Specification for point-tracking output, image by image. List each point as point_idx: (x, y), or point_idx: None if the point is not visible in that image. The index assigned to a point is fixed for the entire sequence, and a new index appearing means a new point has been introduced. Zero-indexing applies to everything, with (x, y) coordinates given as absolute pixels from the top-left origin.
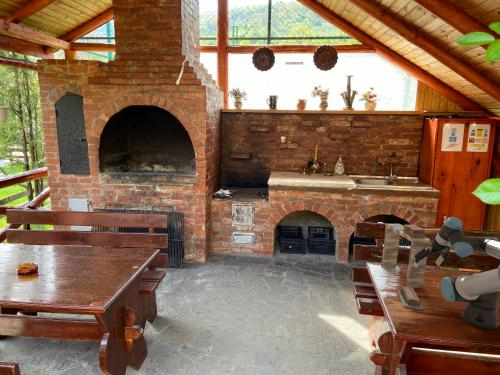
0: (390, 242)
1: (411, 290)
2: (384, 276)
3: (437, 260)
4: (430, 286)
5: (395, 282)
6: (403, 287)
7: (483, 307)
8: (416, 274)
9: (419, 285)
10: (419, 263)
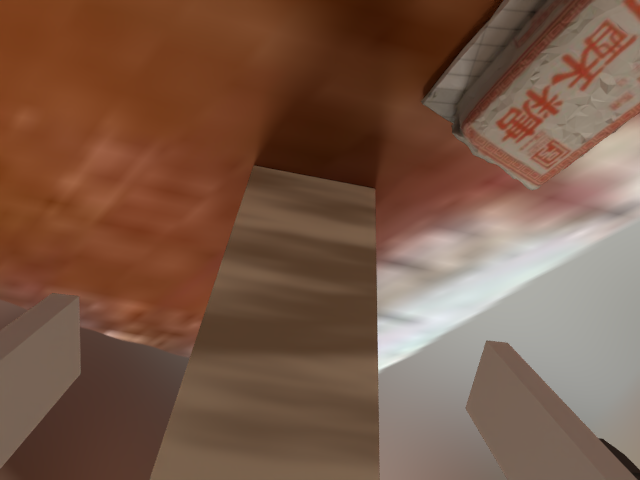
0: None
1: (556, 92)
2: (393, 315)
3: (34, 411)
4: (170, 162)
5: (396, 260)
6: (558, 165)
7: None
8: (312, 268)
9: (280, 183)
10: (573, 433)
